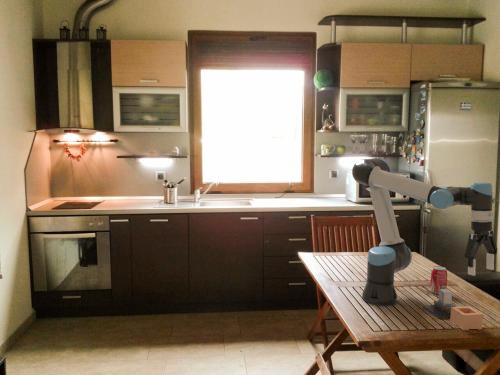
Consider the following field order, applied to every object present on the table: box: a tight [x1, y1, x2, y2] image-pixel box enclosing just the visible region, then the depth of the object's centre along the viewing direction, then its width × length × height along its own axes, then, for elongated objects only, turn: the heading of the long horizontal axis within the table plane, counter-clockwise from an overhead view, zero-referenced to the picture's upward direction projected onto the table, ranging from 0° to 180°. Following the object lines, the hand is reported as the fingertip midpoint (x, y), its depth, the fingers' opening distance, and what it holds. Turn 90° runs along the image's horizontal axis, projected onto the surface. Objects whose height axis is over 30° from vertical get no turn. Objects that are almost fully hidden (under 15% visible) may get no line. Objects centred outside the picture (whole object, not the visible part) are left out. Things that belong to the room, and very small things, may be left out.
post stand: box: [423, 288, 457, 320], centre depth 183 cm, size 12×12×10 cm
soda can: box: [429, 265, 448, 295], centre depth 207 cm, size 7×7×12 cm
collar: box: [449, 305, 484, 331], centre depth 171 cm, size 8×8×6 cm
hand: (481, 272), depth 179 cm, fingers open, 13 cm apart
